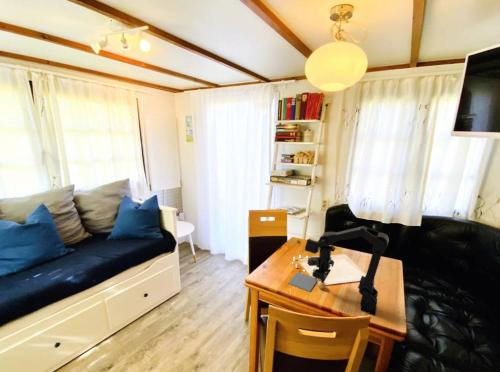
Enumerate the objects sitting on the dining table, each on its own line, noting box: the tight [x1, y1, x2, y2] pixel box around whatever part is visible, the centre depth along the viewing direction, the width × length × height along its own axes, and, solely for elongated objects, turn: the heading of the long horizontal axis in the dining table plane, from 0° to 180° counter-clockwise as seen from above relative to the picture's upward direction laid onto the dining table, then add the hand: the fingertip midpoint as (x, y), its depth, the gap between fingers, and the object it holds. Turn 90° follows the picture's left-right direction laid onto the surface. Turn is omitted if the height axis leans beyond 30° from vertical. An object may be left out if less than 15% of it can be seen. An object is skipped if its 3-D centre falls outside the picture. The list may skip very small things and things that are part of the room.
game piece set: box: [291, 254, 319, 272], centre depth 156 cm, size 19×20×4 cm
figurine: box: [311, 272, 326, 289], centre depth 134 cm, size 8×6×12 cm
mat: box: [287, 271, 318, 293], centre depth 136 cm, size 13×14×1 cm
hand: (322, 282), depth 127 cm, fingers closed
